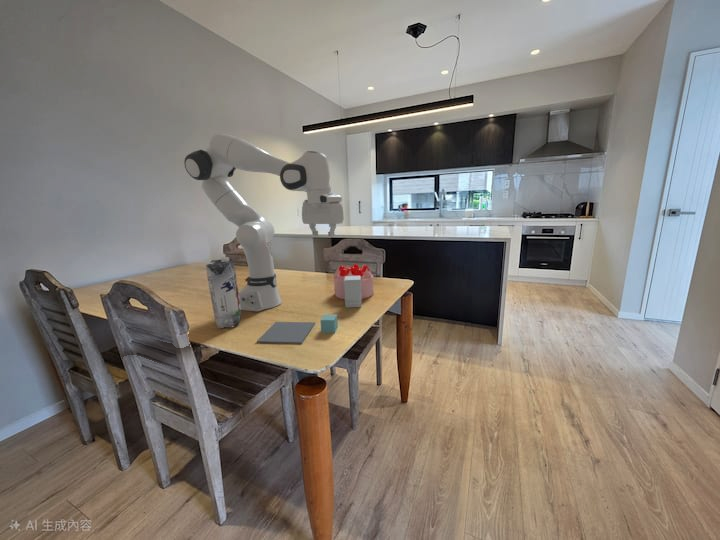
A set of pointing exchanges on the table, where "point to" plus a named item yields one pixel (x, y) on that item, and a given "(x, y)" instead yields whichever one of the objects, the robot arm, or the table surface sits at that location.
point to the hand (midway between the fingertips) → (323, 236)
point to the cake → (364, 272)
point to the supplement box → (352, 291)
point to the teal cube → (329, 324)
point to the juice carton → (224, 292)
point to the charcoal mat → (287, 332)
